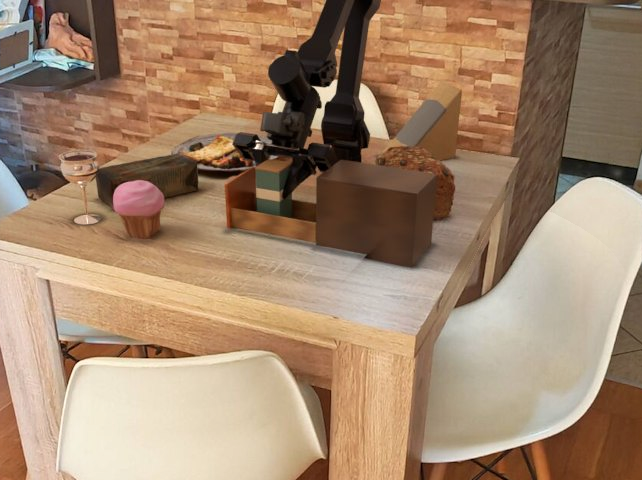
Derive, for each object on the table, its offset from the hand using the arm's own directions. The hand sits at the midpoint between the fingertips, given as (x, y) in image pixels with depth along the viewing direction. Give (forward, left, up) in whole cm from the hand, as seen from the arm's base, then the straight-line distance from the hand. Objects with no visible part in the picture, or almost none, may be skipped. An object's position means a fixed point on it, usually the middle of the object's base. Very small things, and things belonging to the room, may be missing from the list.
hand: (270, 195), depth 145 cm
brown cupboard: (+16, +11, -7) cm, 20 cm away
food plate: (-39, +14, -7) cm, 42 cm away
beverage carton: (-29, -10, -7) cm, 32 cm away
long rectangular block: (-1, +1, -6) cm, 6 cm away
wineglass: (-24, -25, -7) cm, 36 cm away
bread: (+4, +30, -7) cm, 31 cm away
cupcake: (-11, -20, -7) cm, 24 cm away
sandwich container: (-17, +50, -7) cm, 53 cm away
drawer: (0, +2, -6) cm, 7 cm away
